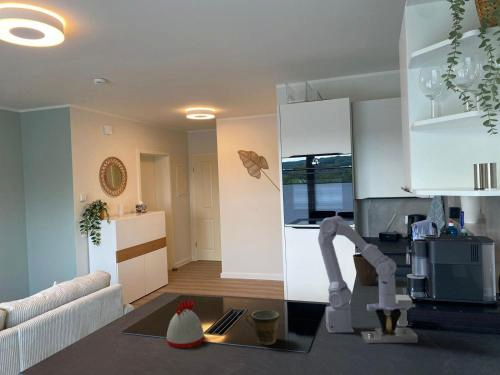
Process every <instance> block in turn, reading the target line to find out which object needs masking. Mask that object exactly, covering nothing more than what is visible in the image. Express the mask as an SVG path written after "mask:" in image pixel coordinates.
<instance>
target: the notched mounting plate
mask: <svg viewBox="0 0 500 375" xmlns="http://www.w3.org/2000/svg"><path fill="white" fill-rule="evenodd" d="M360 335H361V338H362V339H363V340H364V342H365V343H366V344H393V343H394V344H397V343H398V344H405V343H407V344H410V343H411V344H413V343H418V341H419V338H418V334H417V333H416V332H415V331H414V330H413V329H412V328H411V327H396V329H395V331H393V334H386V335H384V331H383V330H382V328H381V327H379V328H378V327H375V328H374V331H361V332H360Z"/></svg>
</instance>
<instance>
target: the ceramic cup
mask: <svg viewBox="0 0 500 375" xmlns="http://www.w3.org/2000/svg"><path fill="white" fill-rule="evenodd" d="M248 316H249V317H250V318H251V320H252V322H251V321H250V320H249V319H248ZM279 317H280V313H279V312H277V311H275V310H271V309H263V310H256V311H253V312H252V314H251V313H248V314H246V316H245V320H246V321H247V323H249V324H250V325H251V327H252V328H253V329H254V333H255V334H254V335H255V338H256V343H258V344H259V345H262V346H263V345H264V346H268V345H269V346H270V345H273V344H275V343H276V339H277V333H278V325H279V320H280V318H279Z"/></svg>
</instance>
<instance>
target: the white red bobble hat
mask: <svg viewBox="0 0 500 375" xmlns="http://www.w3.org/2000/svg"><path fill="white" fill-rule="evenodd" d="M180 304H181V305H180ZM180 304H178V305H177V306H178V309H177V308H175V314H174V315H173V317H172V318H171V319H170V321H169V324H168V328H167V332H166V344H167V345H168V346H169V347H172V348H176V349H189V348H192V347H195V346H198V345H200V344H201V343H203V342H204V340H205V332H204V329H203V326H202V322H201V320H200V318H199V317H198V315H197V314H196V313H195V312H194V311H193V307H194V304H195V301H192V299H188V300H186V299H185V300H181V303H180Z"/></svg>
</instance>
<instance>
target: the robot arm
mask: <svg viewBox="0 0 500 375" xmlns="http://www.w3.org/2000/svg"><path fill="white" fill-rule="evenodd" d="M336 236H341V237H342V236H344V237H346V238H347V239H348V240H349V241H350V242H351V243H352V244H354V245H355V246H356V247H357V248H358V249H359V250H360V251H361V252H360V254H362V256H363V257H364V258H365V259H366V260H367V261H369V262H370V263H371V264H372V265H373V266H374V267H375V268H376V272H377V274H378V275H377V276H378V302H377V303H370V304H366V310H367V311H368V312H373V311H374V312H375V314H376V315H377V317H378V320H379V323H380V328H382V330H383V331H385V315H386V314H387V313H385V311H389V312H390V313H389V314H391V315H392V322H393V331H395V329H396V328H397V326H398V324H397V322H398V319H399V317H400V316H401V312H400V310H409V305H408V304H402V303H396V295H397V293H396V276H395V275H396V274H395V273H396V270H397V263H396V262H395V261H394V259H393V258H390V257H389V256H388V255H384V253H382V251H381V250H380V249H378V248H379V247H378V245H376V244H375V245H374V244H373V243H367V242H366V241H365V240H364V239H363V238H362V236H361V235H360V234H359V233H358V232H357V231H356V230H355V229H354V228H353V227H352V226H351V225H350V224H349V222H348V221H347V220H345V219H344V218H343V217H342V216H340V215H334V216H331V217H325V218H324V219H322V221H321V223H319V232H318V236H317V237H318V238H317V241H318V245H319V248H320V252H321V257H322V260H323V263H324V266H325V270H326V275H327V278H328V281H329V286H328V289H327V290H328V294H329V295H328V302H329V304H330V306H325V327H326V328H327V331H328V333H330V334H331V333H333V334H334V333H336V334H339V333H355V330H354V329H353V327H352V321H351V320H352V319H351V317H352V316H351V314H352V313H351V300H352V298H353V293H352V291H351V289H350V288H349V286H348V284H347V283H348V282H346V281H345V280H344V278H343V274H342V270H341V267H340V264H339V260H338V256H337V254H336V249H335V246H334V243H333V241H334V239H335V238H336Z"/></svg>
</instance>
